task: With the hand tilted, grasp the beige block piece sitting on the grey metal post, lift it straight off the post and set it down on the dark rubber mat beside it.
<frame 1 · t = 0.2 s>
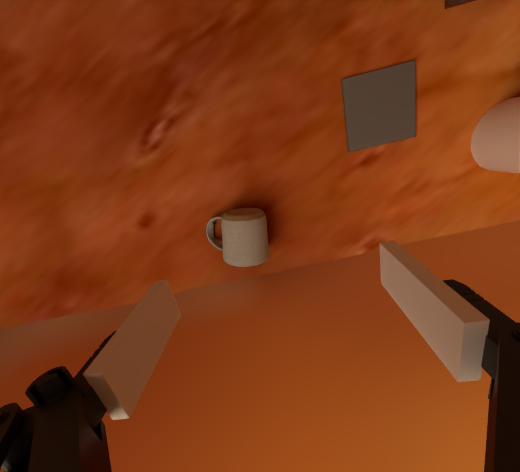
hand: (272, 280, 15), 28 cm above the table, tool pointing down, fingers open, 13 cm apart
ceramic mug: (239, 229, 44), on the table
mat: (379, 109, 36), on the table
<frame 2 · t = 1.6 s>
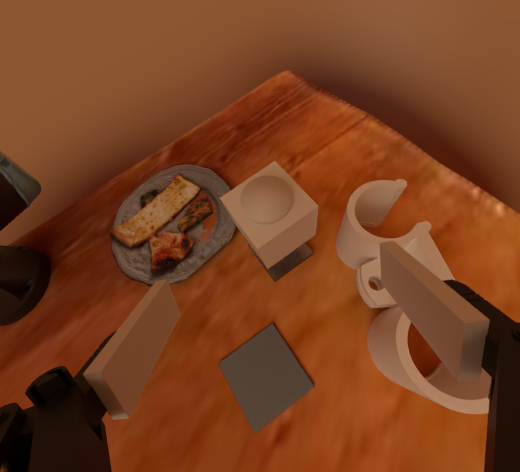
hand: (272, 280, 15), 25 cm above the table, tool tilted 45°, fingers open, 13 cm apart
post: (280, 250, 42), on the table
beige block piece: (274, 230, 35), point 8 cm above the table, touching post
bracket: (381, 294, 37), on the table
food plate: (176, 224, 49), on the table
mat: (264, 374, 36), on the table
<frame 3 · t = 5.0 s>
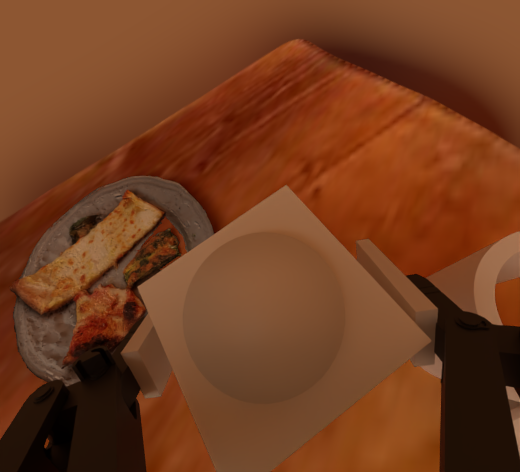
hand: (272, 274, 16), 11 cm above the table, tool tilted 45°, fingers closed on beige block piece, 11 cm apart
beige block piece: (282, 323, 17), point 9 cm above the table, touching gripper, post
bracket: (496, 435, 19), on the table
food plate: (124, 271, 31), on the table
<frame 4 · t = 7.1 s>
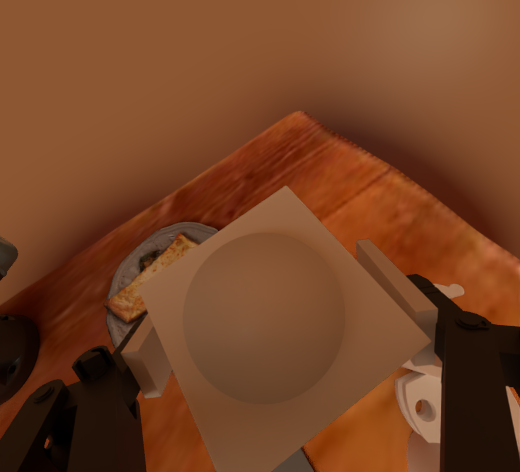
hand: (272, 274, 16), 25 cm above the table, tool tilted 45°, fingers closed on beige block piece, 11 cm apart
beige block piece: (282, 323, 17), point 23 cm above the table, touching gripper
bracket: (422, 397, 32), on the table
food plate: (178, 291, 44), on the table
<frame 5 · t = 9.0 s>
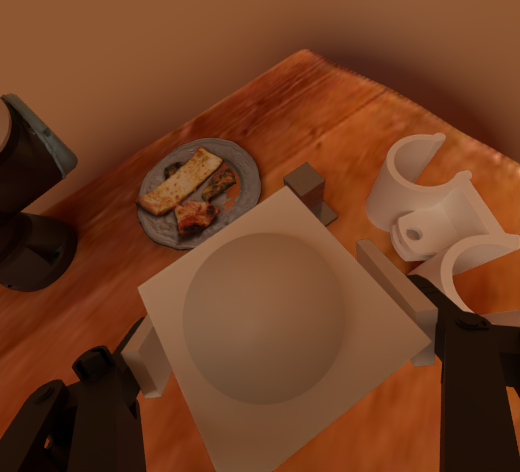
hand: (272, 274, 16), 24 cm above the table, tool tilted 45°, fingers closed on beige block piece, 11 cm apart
post: (304, 215, 43), on the table
beige block piece: (282, 323, 17), point 22 cm above the table, touching gripper
bracket: (412, 254, 38), on the table
food plate: (200, 194, 50), on the table
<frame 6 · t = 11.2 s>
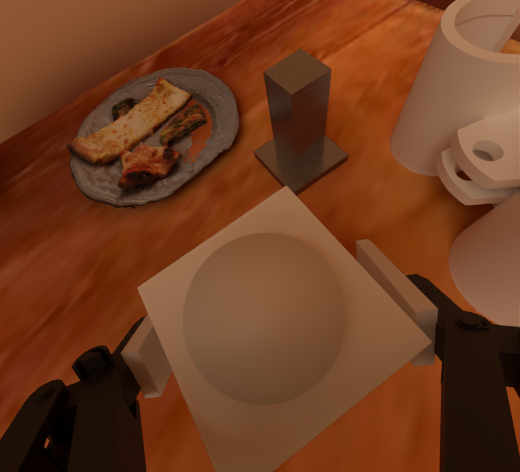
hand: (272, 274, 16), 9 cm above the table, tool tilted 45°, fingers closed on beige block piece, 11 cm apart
post: (299, 158, 30), on the table
beige block piece: (282, 323, 17), point 7 cm above the table, touching gripper
bracket: (465, 204, 25), on the table
food plate: (158, 139, 37), on the table
when the fingers open (4 cm above the table, at t = 13.1 s): beige block piece drops 2 cm, resting on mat.
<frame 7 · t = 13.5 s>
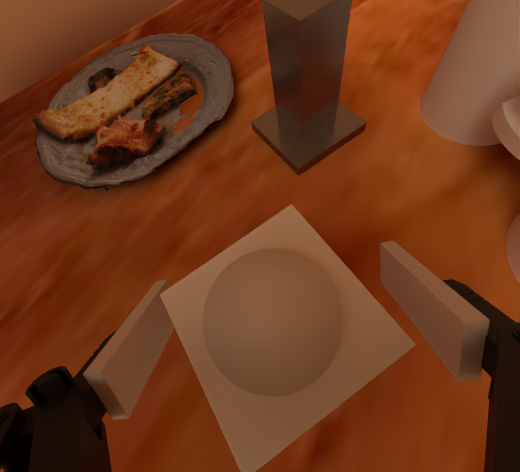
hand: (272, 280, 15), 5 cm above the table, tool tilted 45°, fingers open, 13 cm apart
post: (305, 129, 25), on the table
beige block piece: (285, 325, 18), resting on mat
food plate: (141, 114, 32), on the table
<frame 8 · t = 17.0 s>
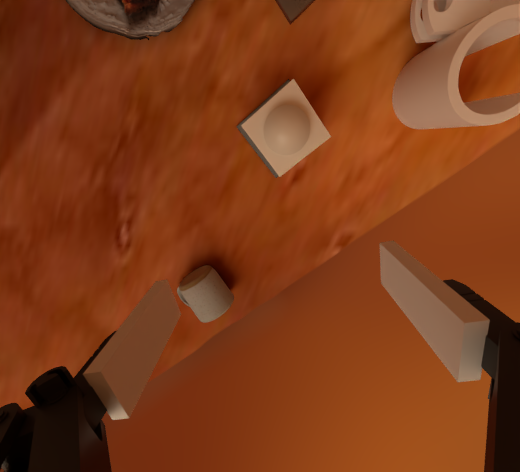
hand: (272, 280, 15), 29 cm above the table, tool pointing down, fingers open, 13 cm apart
ceramic mug: (206, 284, 50), on the table
beige block piece: (282, 132, 38), resting on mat
bracket: (424, 32, 33), on the table
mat: (281, 131, 38), on the table
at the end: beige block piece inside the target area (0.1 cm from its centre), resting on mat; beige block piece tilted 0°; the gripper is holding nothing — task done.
